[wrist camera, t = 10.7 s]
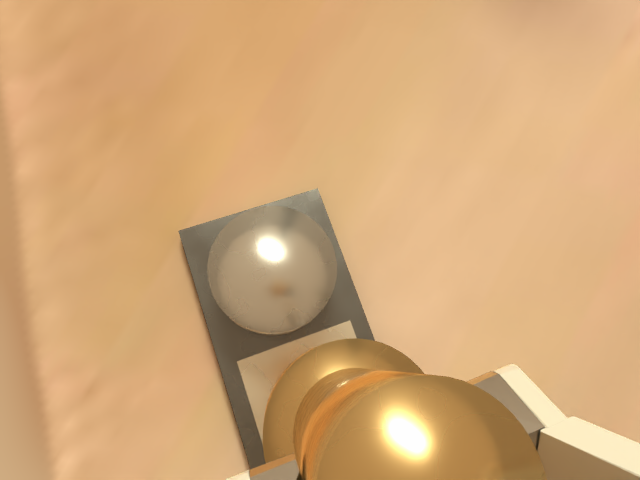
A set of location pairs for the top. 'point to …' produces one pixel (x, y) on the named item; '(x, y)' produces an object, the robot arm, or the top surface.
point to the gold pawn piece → (390, 420)
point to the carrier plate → (249, 343)
